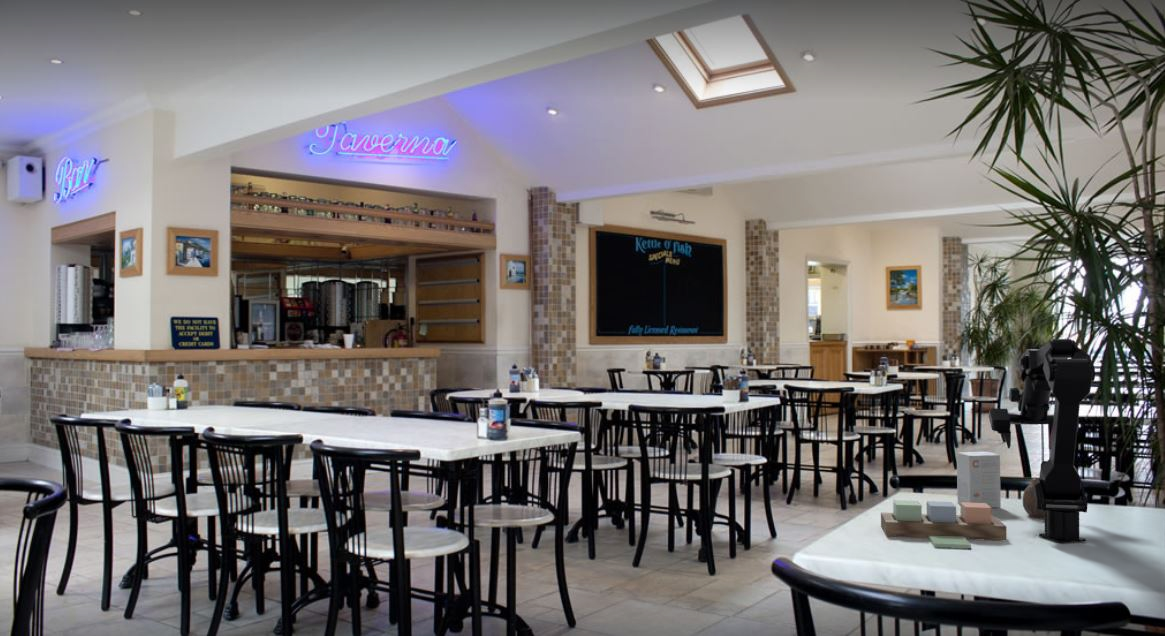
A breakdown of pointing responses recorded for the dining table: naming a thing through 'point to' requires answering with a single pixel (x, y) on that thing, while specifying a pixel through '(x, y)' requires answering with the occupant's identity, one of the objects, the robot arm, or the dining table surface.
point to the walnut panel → (943, 528)
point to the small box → (978, 478)
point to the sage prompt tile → (949, 541)
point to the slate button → (941, 511)
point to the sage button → (907, 510)
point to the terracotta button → (975, 513)
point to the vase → (1032, 501)
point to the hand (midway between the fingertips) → (1029, 447)
